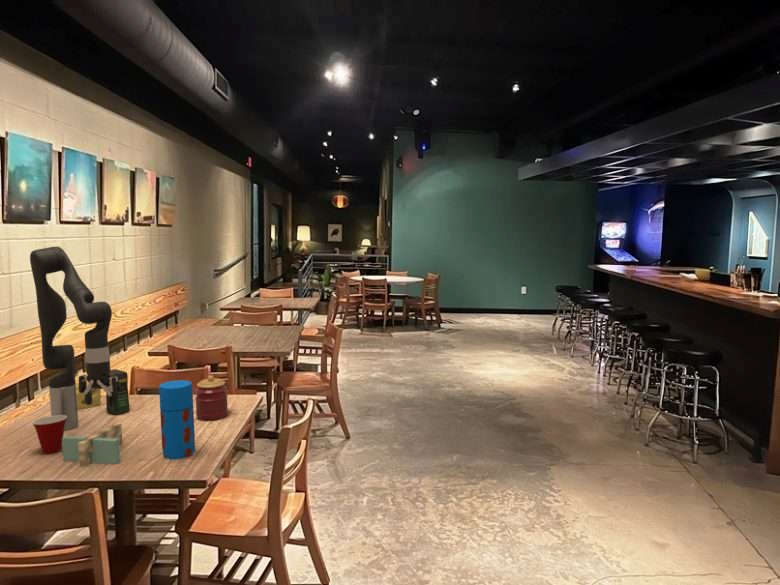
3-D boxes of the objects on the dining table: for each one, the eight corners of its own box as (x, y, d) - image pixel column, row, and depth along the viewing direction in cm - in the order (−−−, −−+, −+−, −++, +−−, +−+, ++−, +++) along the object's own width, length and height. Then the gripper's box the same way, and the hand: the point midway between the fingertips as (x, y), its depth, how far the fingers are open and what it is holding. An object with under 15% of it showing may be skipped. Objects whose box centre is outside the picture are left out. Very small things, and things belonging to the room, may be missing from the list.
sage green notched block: (63, 460, 195) (61, 437, 194) (67, 458, 197) (66, 435, 196) (116, 463, 192) (115, 441, 191) (120, 461, 194) (118, 438, 193)
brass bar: (85, 466, 190) (83, 443, 189) (79, 466, 190) (78, 443, 189) (122, 444, 209) (121, 423, 209) (117, 443, 210) (116, 422, 209)
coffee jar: (132, 411, 247) (130, 370, 245) (114, 416, 241) (112, 373, 238) (121, 407, 253) (119, 366, 251) (103, 412, 247) (101, 370, 244)
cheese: (76, 410, 249) (74, 388, 248) (69, 405, 257) (68, 383, 255) (101, 405, 256) (100, 384, 254) (94, 400, 264) (93, 379, 262)
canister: (222, 421, 234) (221, 379, 232) (191, 421, 234) (189, 379, 232) (232, 411, 247) (230, 371, 245) (202, 411, 247) (200, 371, 245)
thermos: (157, 453, 200) (153, 384, 198) (185, 445, 208) (182, 378, 205) (171, 462, 193) (168, 390, 190) (200, 453, 201) (197, 384, 198)
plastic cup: (65, 442, 211) (63, 411, 210) (72, 450, 203) (70, 418, 202) (31, 450, 204) (28, 417, 203) (37, 459, 196) (35, 425, 195)
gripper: (71, 361, 194) (74, 407, 196) (109, 363, 192) (112, 409, 194) (86, 356, 201) (89, 401, 203) (123, 357, 199) (125, 402, 201)
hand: (100, 405), depth 198 cm, fingers open, 8 cm apart
